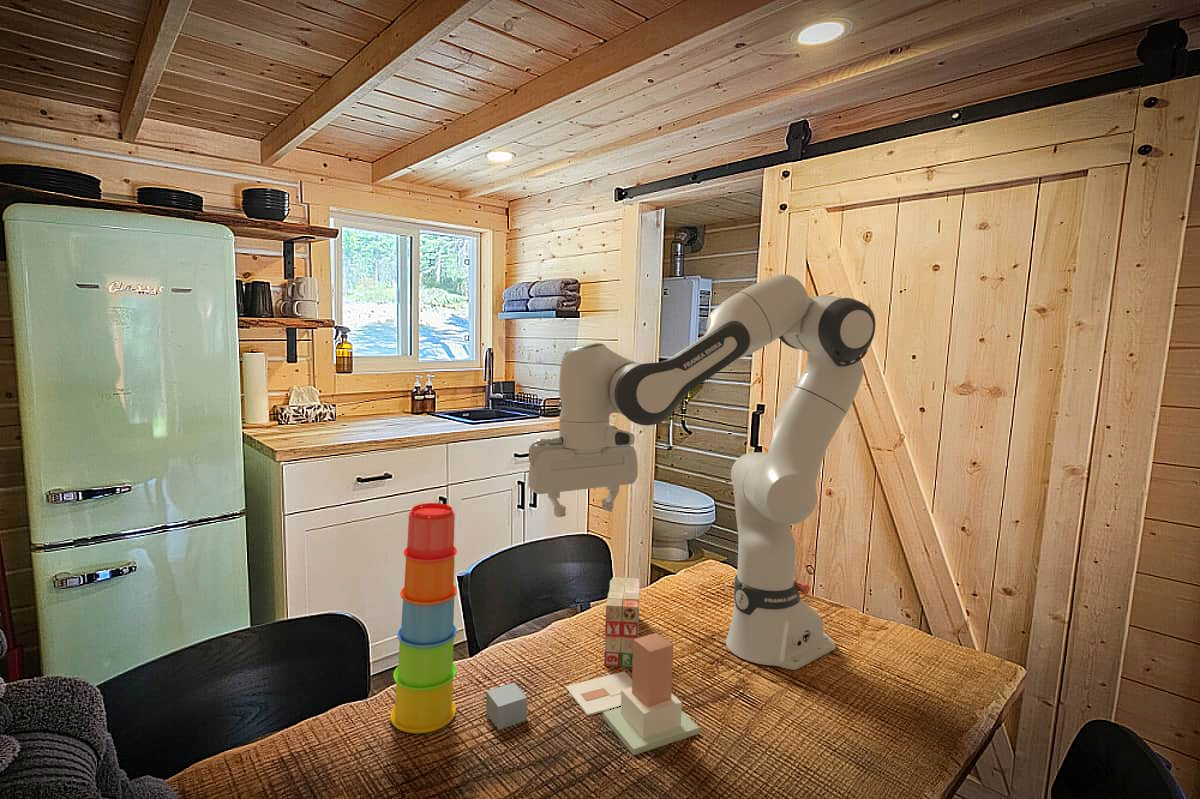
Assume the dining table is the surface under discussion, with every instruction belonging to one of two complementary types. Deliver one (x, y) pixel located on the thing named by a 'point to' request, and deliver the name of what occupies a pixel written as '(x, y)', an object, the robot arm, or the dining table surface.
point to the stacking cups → (427, 623)
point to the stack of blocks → (621, 621)
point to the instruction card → (600, 692)
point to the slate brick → (506, 705)
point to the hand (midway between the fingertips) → (584, 513)
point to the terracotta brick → (652, 669)
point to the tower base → (650, 741)
